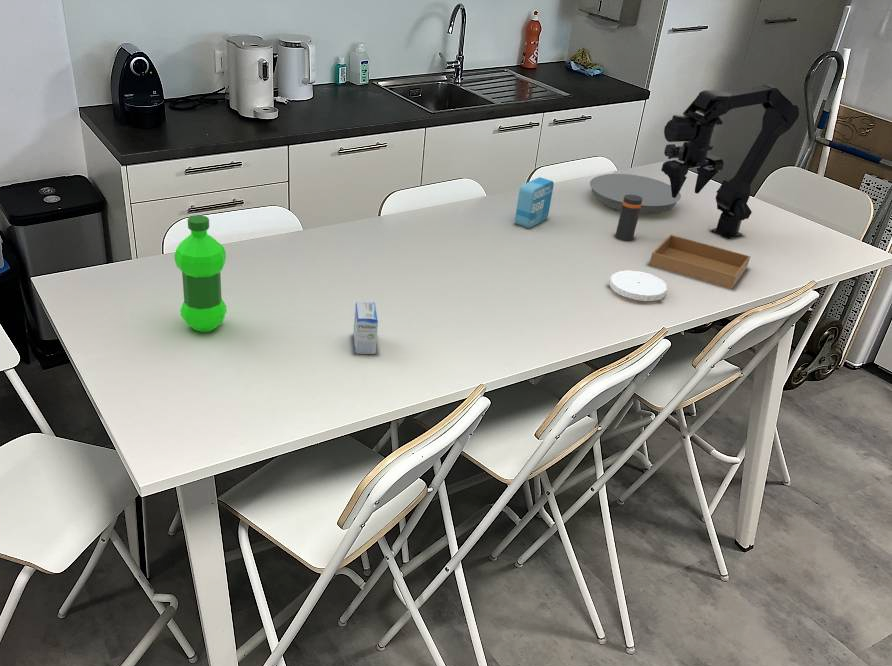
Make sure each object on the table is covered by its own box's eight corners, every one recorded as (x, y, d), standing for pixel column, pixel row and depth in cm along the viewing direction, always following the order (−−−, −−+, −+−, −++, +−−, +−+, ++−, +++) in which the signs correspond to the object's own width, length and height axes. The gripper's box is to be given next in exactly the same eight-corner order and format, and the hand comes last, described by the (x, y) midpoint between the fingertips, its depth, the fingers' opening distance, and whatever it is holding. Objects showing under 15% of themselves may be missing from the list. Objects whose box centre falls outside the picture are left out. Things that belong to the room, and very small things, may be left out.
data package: (526, 229, 245) (533, 189, 239) (513, 225, 247) (519, 185, 241) (547, 218, 253) (554, 179, 247) (534, 214, 255) (541, 175, 249)
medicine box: (353, 335, 188) (354, 300, 183) (373, 336, 188) (375, 301, 184) (355, 354, 181) (357, 318, 177) (376, 354, 182) (378, 319, 177)
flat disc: (575, 186, 279) (578, 172, 277) (657, 187, 282) (660, 174, 280) (603, 219, 256) (606, 205, 253) (691, 220, 259) (695, 206, 257)
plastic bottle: (231, 335, 185) (227, 227, 171) (182, 339, 182) (174, 230, 168) (225, 313, 193) (221, 208, 179) (177, 317, 190) (169, 211, 176)
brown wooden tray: (667, 247, 241) (670, 234, 239) (746, 269, 231) (750, 256, 229) (649, 265, 229) (652, 252, 227) (731, 289, 220) (735, 276, 218)
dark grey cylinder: (633, 235, 247) (642, 195, 240) (633, 242, 242) (643, 202, 236) (615, 232, 247) (623, 193, 241) (614, 239, 243) (623, 199, 237)
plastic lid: (674, 304, 211) (677, 294, 210) (621, 305, 208) (623, 296, 207) (650, 278, 222) (652, 269, 221) (600, 279, 220) (602, 270, 219)
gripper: (700, 128, 241) (686, 181, 250) (653, 135, 233) (640, 190, 241) (731, 140, 233) (716, 194, 242) (684, 147, 225) (670, 203, 233)
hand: (685, 195), depth 240 cm, fingers open, 9 cm apart
